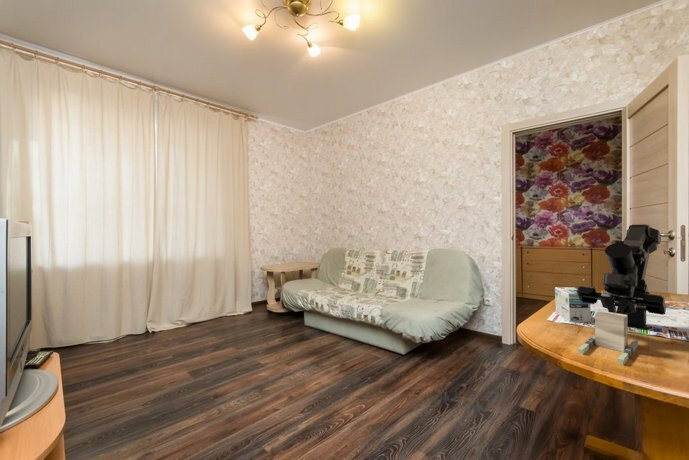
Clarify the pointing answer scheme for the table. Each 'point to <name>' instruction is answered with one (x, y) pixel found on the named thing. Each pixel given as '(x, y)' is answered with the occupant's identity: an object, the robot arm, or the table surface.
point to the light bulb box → (571, 305)
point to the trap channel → (623, 356)
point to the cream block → (611, 330)
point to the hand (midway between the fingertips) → (613, 324)
